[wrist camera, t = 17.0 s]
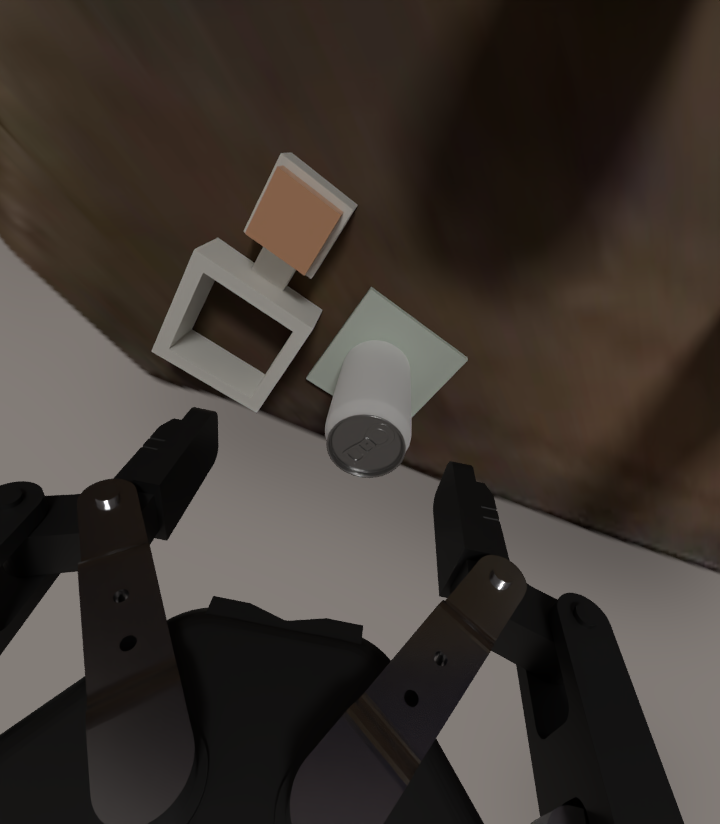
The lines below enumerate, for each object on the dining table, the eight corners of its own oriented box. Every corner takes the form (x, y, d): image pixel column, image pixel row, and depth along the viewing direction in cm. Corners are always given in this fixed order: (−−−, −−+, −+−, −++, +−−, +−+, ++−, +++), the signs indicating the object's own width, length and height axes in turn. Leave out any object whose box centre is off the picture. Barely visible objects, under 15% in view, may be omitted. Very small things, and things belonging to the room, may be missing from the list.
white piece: (380, 223, 32) (377, 233, 28) (270, 388, 41) (256, 413, 38) (265, 131, 29) (244, 129, 25) (176, 331, 39) (151, 351, 35)
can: (424, 370, 38) (431, 451, 28) (376, 409, 41) (366, 495, 31) (376, 323, 36) (364, 392, 26) (328, 368, 39) (302, 445, 29)
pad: (467, 357, 37) (467, 360, 37) (394, 431, 43) (394, 435, 42) (371, 286, 34) (370, 288, 34) (307, 375, 40) (305, 378, 39)
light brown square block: (348, 207, 31) (340, 215, 27) (315, 261, 34) (304, 275, 30) (293, 163, 30) (277, 166, 26) (263, 223, 32) (244, 233, 29)
